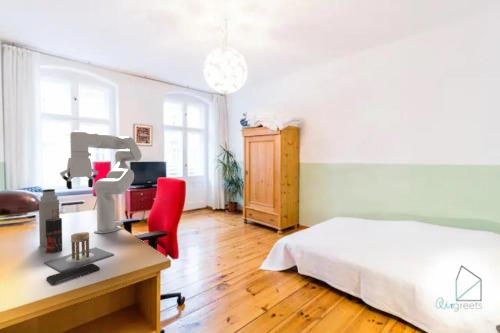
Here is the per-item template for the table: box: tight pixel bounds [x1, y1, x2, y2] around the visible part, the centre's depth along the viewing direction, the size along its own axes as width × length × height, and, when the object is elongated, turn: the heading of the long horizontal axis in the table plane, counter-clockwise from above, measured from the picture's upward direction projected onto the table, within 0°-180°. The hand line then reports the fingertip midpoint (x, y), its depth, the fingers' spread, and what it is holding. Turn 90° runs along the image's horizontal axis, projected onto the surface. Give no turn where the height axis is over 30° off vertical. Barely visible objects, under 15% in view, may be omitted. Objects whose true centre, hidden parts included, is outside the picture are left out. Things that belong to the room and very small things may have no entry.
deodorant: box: [45, 217, 63, 255], centre depth 114 cm, size 6×6×15 cm
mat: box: [43, 247, 115, 273], centre depth 105 cm, size 20×16×1 cm
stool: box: [70, 231, 90, 260], centre depth 105 cm, size 6×6×10 cm
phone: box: [46, 263, 101, 286], centre depth 90 cm, size 8×1×15 cm
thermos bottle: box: [38, 188, 60, 248], centre depth 124 cm, size 8×8×28 cm
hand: (80, 188), depth 127 cm, fingers open, 9 cm apart
